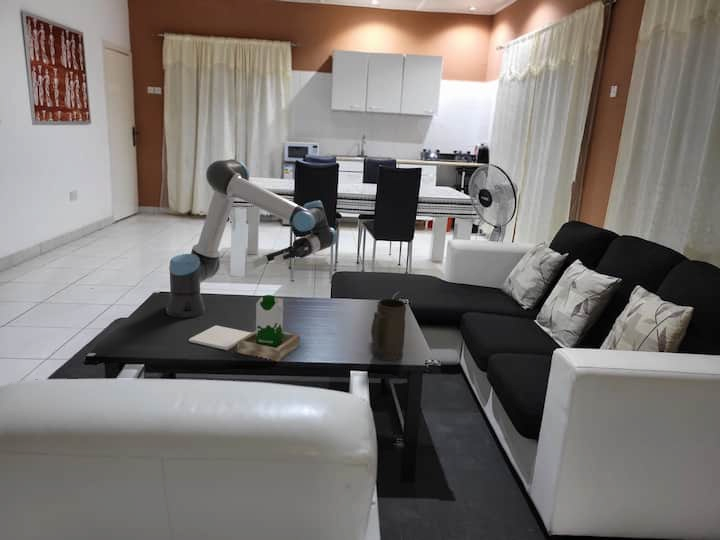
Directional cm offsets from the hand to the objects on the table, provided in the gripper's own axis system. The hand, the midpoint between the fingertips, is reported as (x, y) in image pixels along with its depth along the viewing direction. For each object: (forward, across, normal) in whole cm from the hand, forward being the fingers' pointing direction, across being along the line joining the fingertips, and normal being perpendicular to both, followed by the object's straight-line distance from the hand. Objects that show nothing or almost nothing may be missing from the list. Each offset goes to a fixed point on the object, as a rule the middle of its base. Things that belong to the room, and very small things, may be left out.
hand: (264, 262), depth 190 cm
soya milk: (+11, -2, -29) cm, 31 cm away
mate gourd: (-42, -11, -41) cm, 60 cm away
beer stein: (-14, -32, -43) cm, 55 cm away
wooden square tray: (+11, -2, -29) cm, 31 cm away
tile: (+18, +15, -22) cm, 32 cm away
